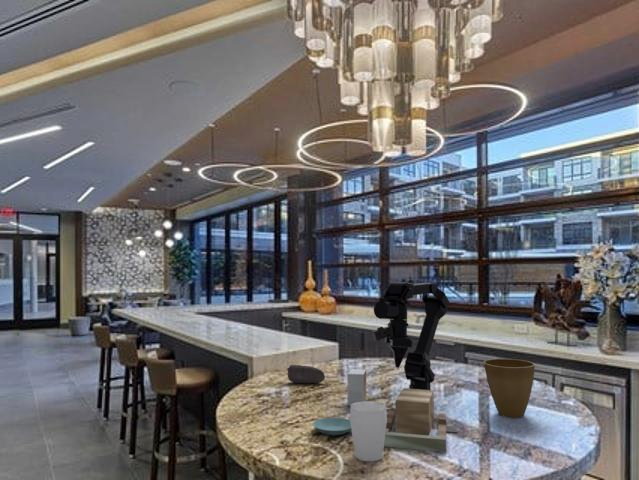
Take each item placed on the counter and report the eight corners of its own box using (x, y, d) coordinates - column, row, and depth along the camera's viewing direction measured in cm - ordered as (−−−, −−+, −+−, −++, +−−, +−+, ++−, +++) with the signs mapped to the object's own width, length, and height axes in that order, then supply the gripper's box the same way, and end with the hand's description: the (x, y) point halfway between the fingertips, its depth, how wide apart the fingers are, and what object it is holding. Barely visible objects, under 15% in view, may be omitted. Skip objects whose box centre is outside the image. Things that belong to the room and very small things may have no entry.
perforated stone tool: (326, 382, 191) (326, 365, 192) (323, 385, 186) (323, 367, 187) (290, 380, 195) (290, 363, 195) (286, 383, 190) (286, 366, 190)
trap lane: (379, 415, 148) (379, 405, 148) (456, 421, 142) (455, 410, 143) (366, 444, 124) (366, 433, 124) (458, 453, 118) (458, 440, 118)
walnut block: (403, 418, 146) (403, 388, 147) (433, 420, 143) (433, 390, 144) (396, 432, 133) (395, 400, 133) (428, 436, 130) (428, 402, 131)
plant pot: (533, 409, 153) (532, 359, 154) (538, 424, 139) (537, 368, 140) (485, 405, 158) (483, 356, 159) (485, 419, 144) (483, 365, 145)
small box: (364, 406, 158) (364, 374, 158) (347, 405, 159) (347, 373, 159) (366, 400, 166) (366, 369, 166) (350, 399, 167) (350, 368, 167)
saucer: (313, 424, 140) (313, 416, 141) (354, 425, 140) (354, 417, 140) (312, 439, 129) (312, 430, 129) (355, 439, 128) (355, 430, 128)
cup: (347, 450, 120) (347, 401, 121) (382, 448, 121) (382, 400, 122) (353, 464, 111) (352, 412, 112) (391, 463, 112) (390, 411, 113)
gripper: (371, 318, 169) (370, 363, 167) (377, 318, 151) (376, 369, 148) (403, 319, 169) (401, 364, 166) (413, 320, 150) (411, 371, 148)
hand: (397, 367), depth 157 cm, fingers closed
